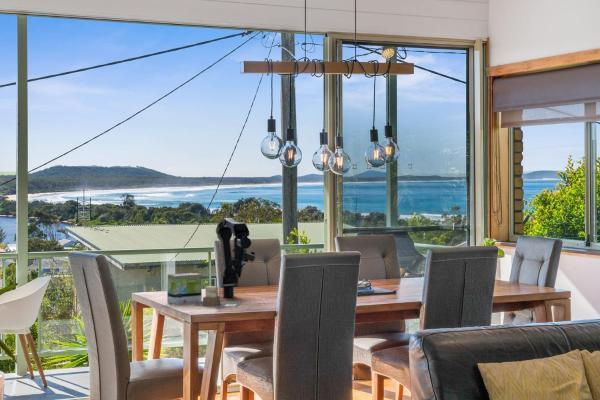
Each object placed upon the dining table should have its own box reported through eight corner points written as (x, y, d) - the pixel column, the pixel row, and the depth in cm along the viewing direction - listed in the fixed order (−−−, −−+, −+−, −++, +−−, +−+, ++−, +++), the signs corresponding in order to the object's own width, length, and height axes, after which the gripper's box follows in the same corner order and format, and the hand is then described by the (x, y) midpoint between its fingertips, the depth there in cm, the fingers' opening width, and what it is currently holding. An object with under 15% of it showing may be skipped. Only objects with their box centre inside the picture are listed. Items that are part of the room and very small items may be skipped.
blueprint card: (227, 304, 424) (227, 303, 424) (237, 304, 424) (237, 303, 424) (224, 306, 418) (224, 305, 418) (234, 306, 418) (234, 305, 418)
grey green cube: (208, 295, 426) (208, 286, 426) (217, 296, 426) (217, 286, 425) (205, 297, 421) (205, 287, 421) (215, 297, 421) (215, 287, 420)
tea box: (176, 305, 428) (175, 275, 427) (167, 302, 436) (166, 274, 435) (202, 302, 436) (202, 273, 436) (192, 300, 445) (192, 272, 444)
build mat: (202, 302, 436) (202, 301, 436) (243, 303, 432) (243, 301, 432) (193, 307, 420) (193, 305, 420) (236, 307, 417) (236, 306, 416)
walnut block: (206, 303, 428) (206, 295, 427) (220, 303, 427) (220, 295, 426) (203, 305, 421) (203, 297, 421) (216, 305, 420) (216, 297, 419)
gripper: (250, 248, 421) (251, 280, 422) (258, 245, 440) (258, 275, 440) (229, 248, 423) (229, 279, 423) (237, 245, 441) (238, 275, 442)
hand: (239, 277), depth 432 cm, fingers closed
